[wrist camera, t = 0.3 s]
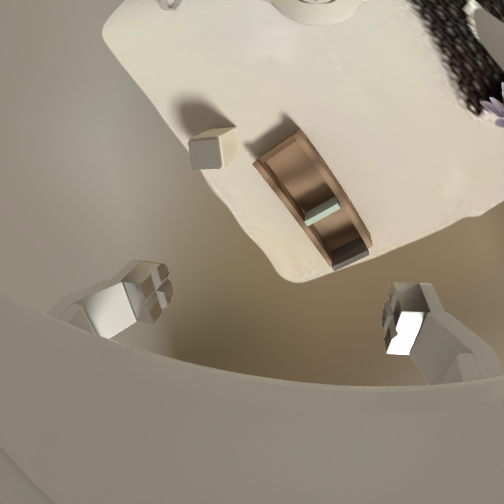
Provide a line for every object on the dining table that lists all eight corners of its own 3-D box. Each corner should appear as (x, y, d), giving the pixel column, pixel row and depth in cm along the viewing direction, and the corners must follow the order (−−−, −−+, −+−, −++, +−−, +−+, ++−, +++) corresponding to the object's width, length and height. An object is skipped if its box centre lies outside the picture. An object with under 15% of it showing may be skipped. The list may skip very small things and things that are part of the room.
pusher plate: (305, 212, 47) (304, 221, 44) (336, 195, 44) (337, 203, 41) (308, 216, 47) (307, 226, 45) (339, 199, 44) (340, 208, 41)
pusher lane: (258, 157, 45) (249, 167, 40) (300, 128, 40) (297, 134, 35) (329, 254, 52) (329, 273, 47) (370, 234, 47) (374, 252, 43)
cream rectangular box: (209, 128, 44) (185, 140, 36) (236, 126, 42) (217, 137, 35) (212, 155, 46) (190, 171, 39) (239, 154, 45) (221, 170, 38)
